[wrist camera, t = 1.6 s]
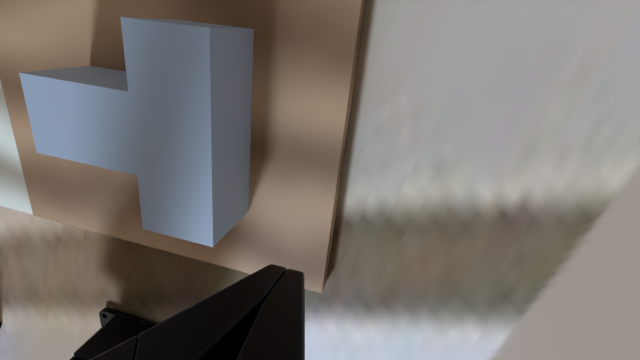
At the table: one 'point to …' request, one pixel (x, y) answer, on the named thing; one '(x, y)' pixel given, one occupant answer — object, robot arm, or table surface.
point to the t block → (160, 121)
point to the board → (266, 123)
